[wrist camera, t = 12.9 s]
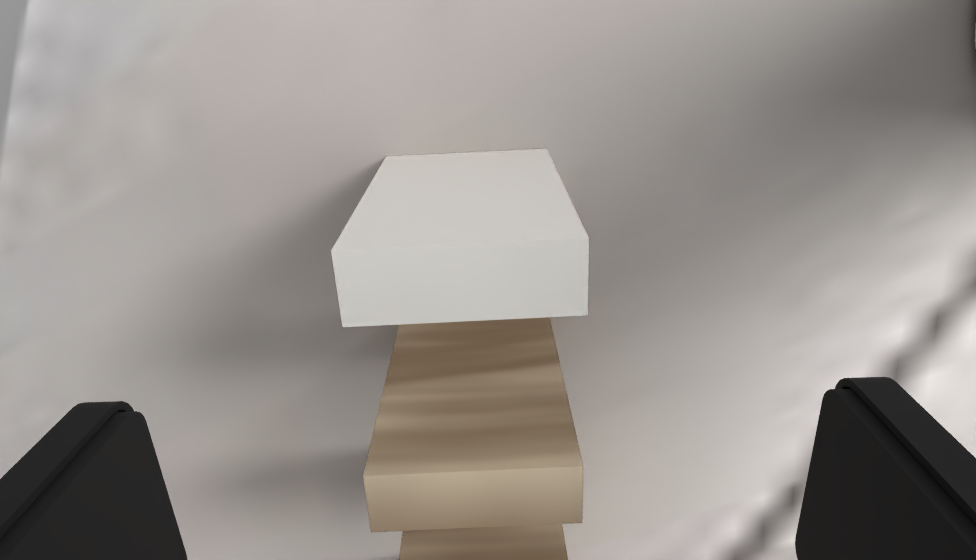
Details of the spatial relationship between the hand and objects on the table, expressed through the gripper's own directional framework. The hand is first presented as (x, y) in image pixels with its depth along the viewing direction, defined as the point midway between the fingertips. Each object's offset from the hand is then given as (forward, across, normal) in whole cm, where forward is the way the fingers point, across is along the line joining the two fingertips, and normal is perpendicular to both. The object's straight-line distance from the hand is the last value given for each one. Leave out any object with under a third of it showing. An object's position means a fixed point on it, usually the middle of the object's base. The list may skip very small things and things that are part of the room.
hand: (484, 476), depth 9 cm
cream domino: (+17, +1, 0) cm, 17 cm away
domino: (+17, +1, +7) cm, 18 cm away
